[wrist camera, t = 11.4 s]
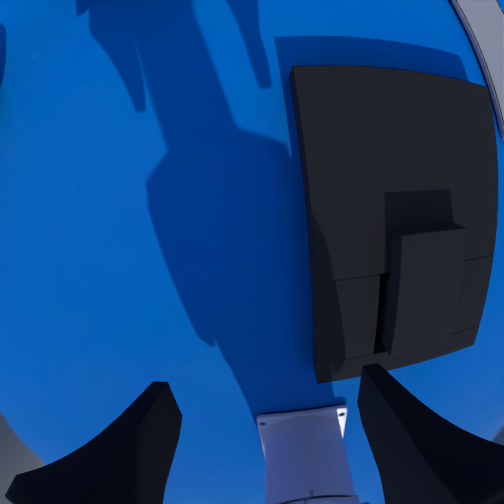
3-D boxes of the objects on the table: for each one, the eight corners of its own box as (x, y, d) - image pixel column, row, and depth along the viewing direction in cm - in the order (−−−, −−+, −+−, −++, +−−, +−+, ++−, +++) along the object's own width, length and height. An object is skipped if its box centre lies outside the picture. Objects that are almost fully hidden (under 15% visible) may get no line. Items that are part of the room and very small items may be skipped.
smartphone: (506, 146, 14) (439, -25, 9) (501, 146, 14) (435, -22, 10) (545, 138, 13) (491, -11, 8) (541, 138, 13) (487, -9, 9)
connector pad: (427, 317, 19) (448, 341, 16) (373, 328, 19) (390, 357, 16) (437, 215, 16) (467, 227, 13) (377, 220, 17) (401, 235, 13)
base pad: (462, 333, 19) (473, 345, 17) (313, 366, 20) (317, 383, 18) (472, 90, 13) (488, 87, 11) (289, 76, 14) (292, 65, 12)
